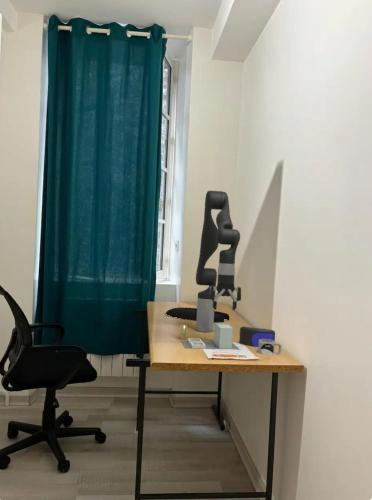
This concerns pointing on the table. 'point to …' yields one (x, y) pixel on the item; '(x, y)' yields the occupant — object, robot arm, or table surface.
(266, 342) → the mug
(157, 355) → the table surface
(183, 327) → the pin
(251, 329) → the leaning round-cornered charcoal block
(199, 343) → the board
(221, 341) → the block
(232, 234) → the robot arm
